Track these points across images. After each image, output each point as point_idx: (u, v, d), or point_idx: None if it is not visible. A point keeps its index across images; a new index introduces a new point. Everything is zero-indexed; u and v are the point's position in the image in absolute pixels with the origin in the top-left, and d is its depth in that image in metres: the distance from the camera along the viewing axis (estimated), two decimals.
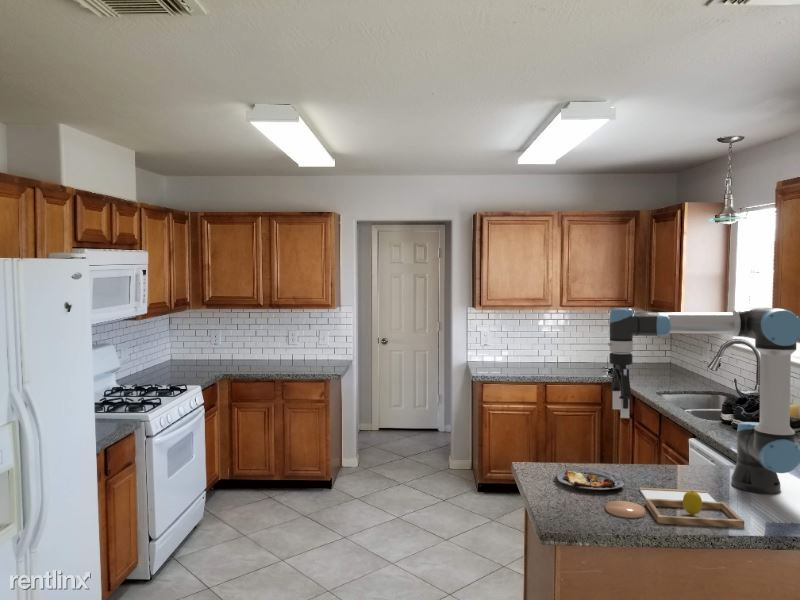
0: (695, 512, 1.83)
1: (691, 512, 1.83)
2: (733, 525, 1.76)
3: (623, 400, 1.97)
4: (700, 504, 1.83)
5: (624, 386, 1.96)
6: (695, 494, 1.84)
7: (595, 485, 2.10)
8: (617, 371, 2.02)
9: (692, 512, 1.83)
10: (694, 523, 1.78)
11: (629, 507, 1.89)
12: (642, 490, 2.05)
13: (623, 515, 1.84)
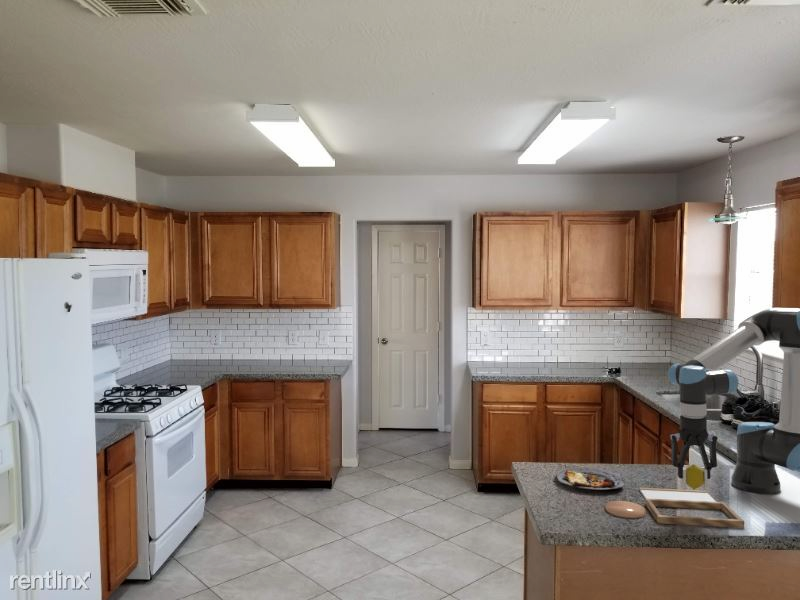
0: (697, 486, 1.83)
1: (693, 486, 1.83)
2: (733, 525, 1.76)
3: None
4: (701, 478, 1.82)
5: (671, 453, 1.86)
6: (696, 468, 1.83)
7: (595, 485, 2.10)
8: None
9: (694, 486, 1.83)
10: (694, 523, 1.78)
11: (629, 507, 1.89)
12: (642, 490, 2.05)
13: (623, 515, 1.84)
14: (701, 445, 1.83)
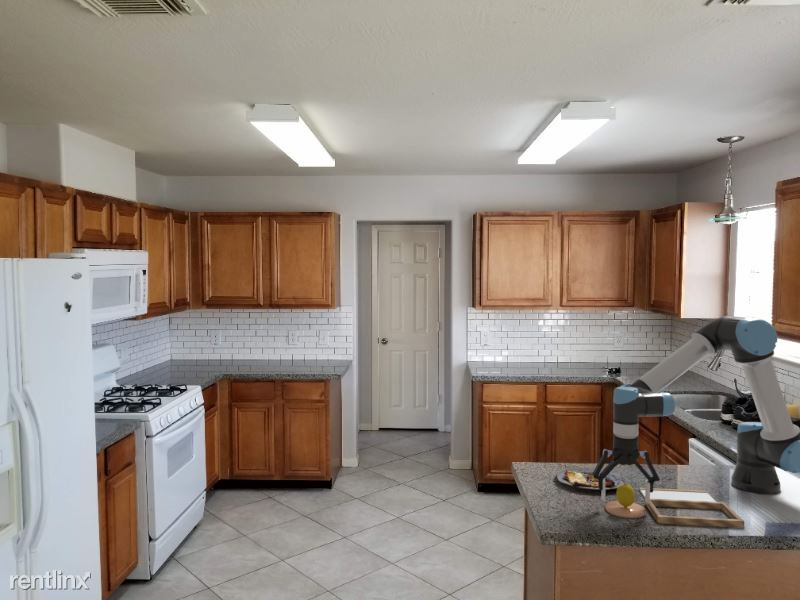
0: (627, 504, 1.87)
1: (624, 504, 1.87)
2: (733, 525, 1.76)
3: None
4: (632, 496, 1.87)
5: (597, 465, 1.91)
6: (628, 487, 1.88)
7: (595, 485, 2.10)
8: None
9: (624, 504, 1.87)
10: (694, 523, 1.78)
11: (629, 507, 1.89)
12: (642, 490, 2.05)
13: (623, 515, 1.84)
14: (635, 463, 1.87)
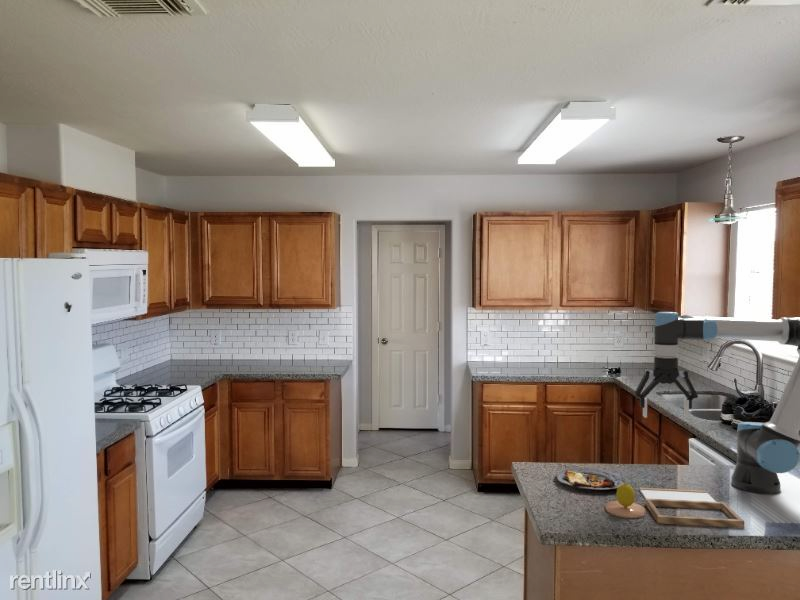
0: (627, 504, 1.87)
1: (624, 504, 1.87)
2: (733, 525, 1.76)
3: None
4: (632, 496, 1.87)
5: (639, 385, 2.05)
6: (628, 487, 1.88)
7: (595, 485, 2.10)
8: None
9: (624, 504, 1.87)
10: (694, 523, 1.78)
11: (629, 507, 1.89)
12: (642, 490, 2.05)
13: (623, 515, 1.84)
14: (675, 381, 2.01)
